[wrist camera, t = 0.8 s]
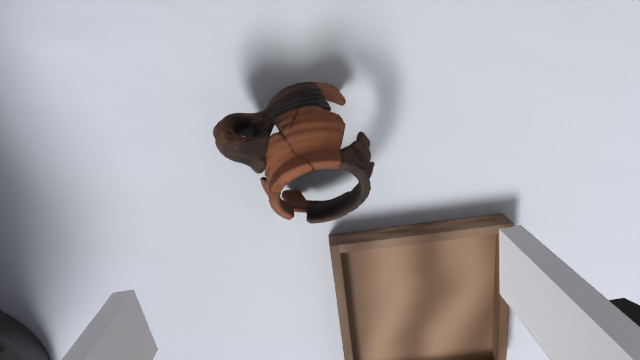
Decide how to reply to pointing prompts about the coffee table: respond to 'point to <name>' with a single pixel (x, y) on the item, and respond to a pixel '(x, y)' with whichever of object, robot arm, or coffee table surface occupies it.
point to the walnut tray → (422, 291)
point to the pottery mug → (298, 149)
